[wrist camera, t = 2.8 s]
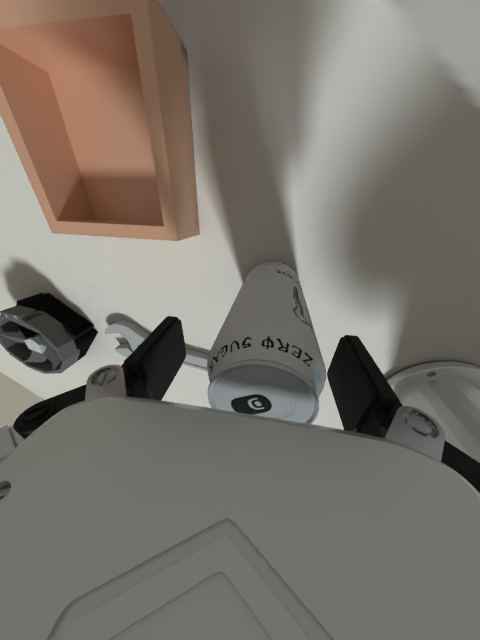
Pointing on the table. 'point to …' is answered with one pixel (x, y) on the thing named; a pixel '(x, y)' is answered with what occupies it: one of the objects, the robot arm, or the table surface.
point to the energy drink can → (267, 350)
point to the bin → (101, 115)
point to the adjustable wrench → (138, 336)
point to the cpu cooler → (45, 333)
